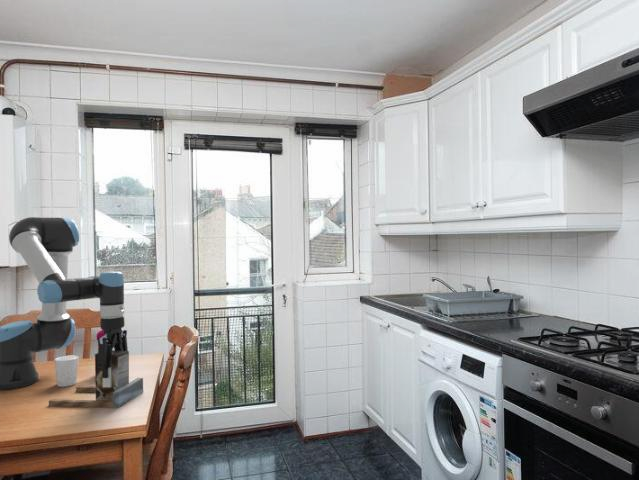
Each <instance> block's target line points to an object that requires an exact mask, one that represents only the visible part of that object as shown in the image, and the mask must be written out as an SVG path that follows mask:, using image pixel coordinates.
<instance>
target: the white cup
mask: <svg viewBox="0 0 639 480" xmlns="http://www.w3.org/2000/svg"><path fill="white" fill-rule="evenodd" d="M54 365H55V366H54V368H55V378H56V386H57V387H61V388H63V387H64V388H65V387H71V386H73V385H76V384H77V383H78V374H79V372H78V371H79V356H78V355H73V354H72V355H64V356H63V355H62V356H59V357H56V358H54Z"/></svg>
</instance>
